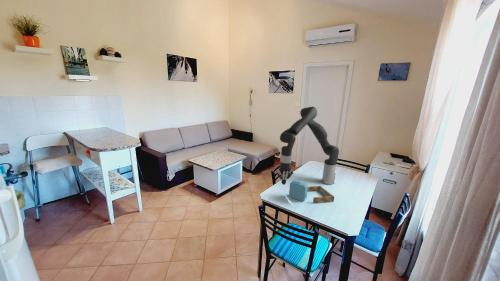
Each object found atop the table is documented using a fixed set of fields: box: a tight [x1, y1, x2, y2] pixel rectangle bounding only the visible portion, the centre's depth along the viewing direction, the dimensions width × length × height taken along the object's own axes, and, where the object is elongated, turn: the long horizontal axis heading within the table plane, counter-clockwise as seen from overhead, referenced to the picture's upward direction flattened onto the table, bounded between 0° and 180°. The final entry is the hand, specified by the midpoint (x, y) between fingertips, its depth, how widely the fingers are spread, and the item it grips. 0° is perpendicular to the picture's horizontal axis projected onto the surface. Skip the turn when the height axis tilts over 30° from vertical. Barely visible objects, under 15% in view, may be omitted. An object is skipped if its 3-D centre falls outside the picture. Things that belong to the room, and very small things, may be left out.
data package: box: [288, 180, 309, 202], centre depth 147 cm, size 12×4×12 cm, turn 54°
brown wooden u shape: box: [307, 185, 335, 204], centre depth 152 cm, size 16×18×4 cm
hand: (283, 184), depth 143 cm, fingers closed
